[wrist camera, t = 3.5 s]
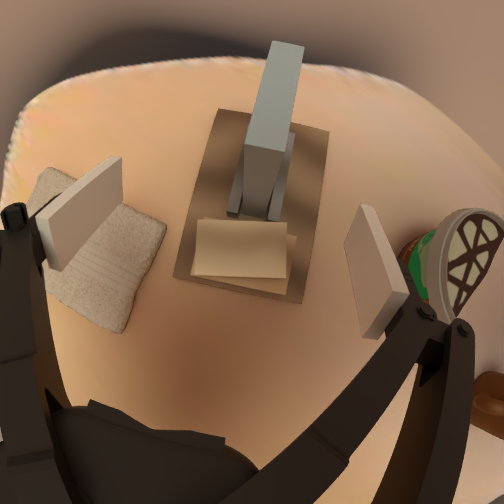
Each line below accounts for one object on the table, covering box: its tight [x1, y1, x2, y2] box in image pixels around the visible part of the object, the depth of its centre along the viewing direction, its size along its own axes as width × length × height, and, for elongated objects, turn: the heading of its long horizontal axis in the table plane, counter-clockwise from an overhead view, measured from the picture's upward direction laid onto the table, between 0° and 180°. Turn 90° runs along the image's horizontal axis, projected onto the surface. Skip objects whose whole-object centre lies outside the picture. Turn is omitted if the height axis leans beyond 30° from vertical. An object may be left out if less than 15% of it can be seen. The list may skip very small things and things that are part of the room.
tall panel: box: [242, 41, 304, 218], centre depth 22 cm, size 8×2×14 cm, turn 168°
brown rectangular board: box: [173, 108, 329, 304], centre depth 28 cm, size 18×12×3 cm, turn 168°
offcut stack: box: [190, 217, 297, 295], centre depth 25 cm, size 5×8×5 cm
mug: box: [470, 372, 504, 440], centre depth 23 cm, size 12×8×9 cm, turn 67°
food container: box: [398, 208, 504, 325], centre depth 24 cm, size 12×6×10 cm, turn 132°
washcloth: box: [26, 167, 167, 334], centre depth 27 cm, size 12×18×3 cm, turn 66°
